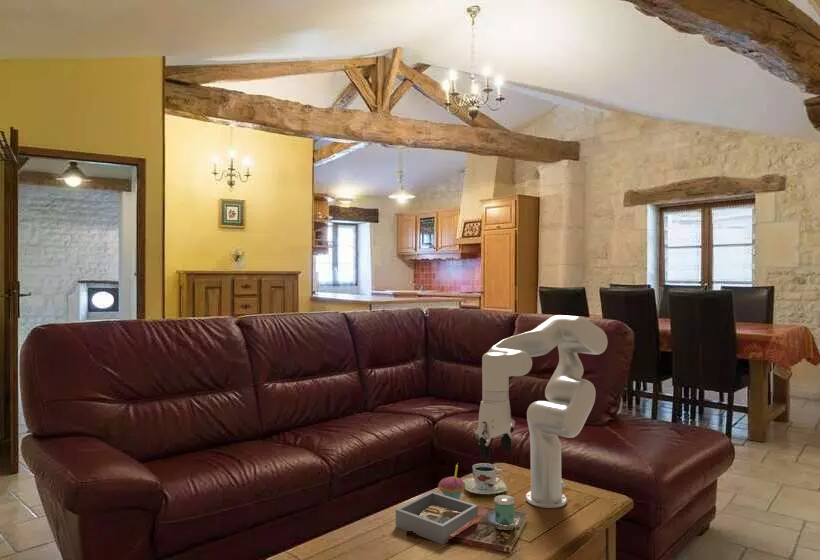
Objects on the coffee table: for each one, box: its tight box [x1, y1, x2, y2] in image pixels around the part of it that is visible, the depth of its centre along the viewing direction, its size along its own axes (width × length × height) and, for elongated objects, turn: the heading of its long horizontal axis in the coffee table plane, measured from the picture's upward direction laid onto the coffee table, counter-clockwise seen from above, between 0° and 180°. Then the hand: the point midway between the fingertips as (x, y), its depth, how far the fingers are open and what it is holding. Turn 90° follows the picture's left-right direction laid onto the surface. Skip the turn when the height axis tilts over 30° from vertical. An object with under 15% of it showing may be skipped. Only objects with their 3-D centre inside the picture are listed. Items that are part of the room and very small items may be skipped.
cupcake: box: [437, 462, 466, 500], centre depth 181 cm, size 9×8×12 cm
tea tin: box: [493, 494, 516, 525], centre depth 162 cm, size 6×6×8 cm
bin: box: [395, 491, 479, 546], centre depth 164 cm, size 17×17×5 cm
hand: (495, 454), depth 162 cm, fingers open, 9 cm apart
